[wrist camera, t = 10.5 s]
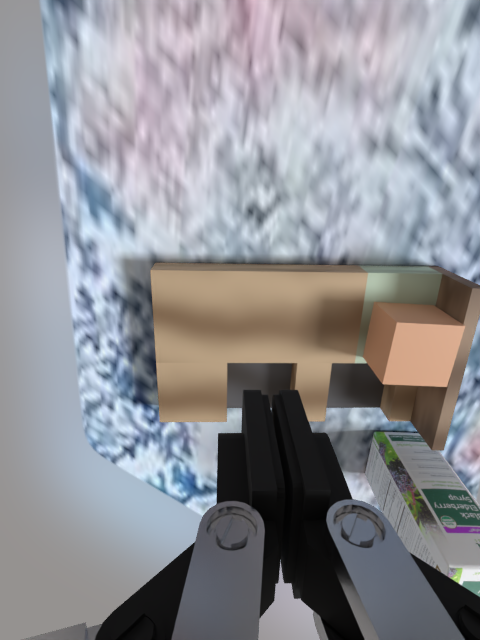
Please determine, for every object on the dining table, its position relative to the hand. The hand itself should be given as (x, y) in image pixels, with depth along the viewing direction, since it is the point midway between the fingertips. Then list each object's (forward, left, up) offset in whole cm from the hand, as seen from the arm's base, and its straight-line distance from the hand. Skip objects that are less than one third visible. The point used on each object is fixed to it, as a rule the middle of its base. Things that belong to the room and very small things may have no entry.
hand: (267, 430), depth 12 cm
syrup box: (+20, +17, -22) cm, 34 cm away
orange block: (+5, +13, -20) cm, 24 cm away
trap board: (+8, +5, -22) cm, 24 cm away
